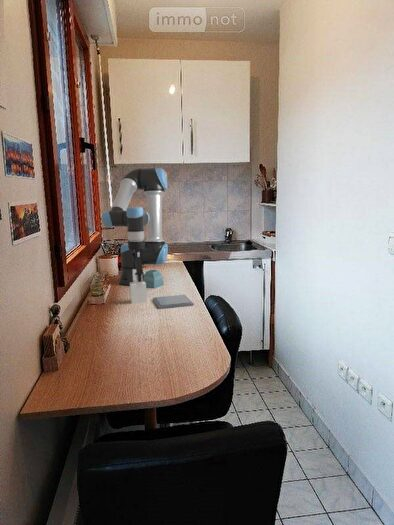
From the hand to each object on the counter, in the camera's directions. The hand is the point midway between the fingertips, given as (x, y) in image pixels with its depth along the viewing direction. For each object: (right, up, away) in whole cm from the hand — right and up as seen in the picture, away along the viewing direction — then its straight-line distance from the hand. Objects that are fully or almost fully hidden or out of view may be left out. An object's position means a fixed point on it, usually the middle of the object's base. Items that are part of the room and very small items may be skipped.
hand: (137, 285), depth 178 cm
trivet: (+17, -8, -1) cm, 18 cm away
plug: (0, -8, +2) cm, 8 cm away
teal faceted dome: (+3, +7, +30) cm, 31 cm away
